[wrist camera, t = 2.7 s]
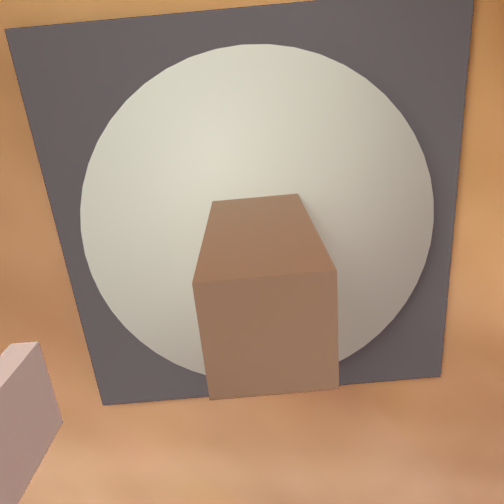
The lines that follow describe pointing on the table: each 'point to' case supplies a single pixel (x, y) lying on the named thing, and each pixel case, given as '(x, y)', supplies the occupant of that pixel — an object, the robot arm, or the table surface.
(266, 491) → the table surface
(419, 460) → the table surface
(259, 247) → the lid
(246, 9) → the mat
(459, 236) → the table surface
